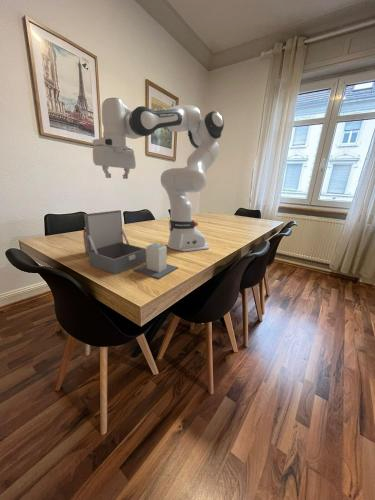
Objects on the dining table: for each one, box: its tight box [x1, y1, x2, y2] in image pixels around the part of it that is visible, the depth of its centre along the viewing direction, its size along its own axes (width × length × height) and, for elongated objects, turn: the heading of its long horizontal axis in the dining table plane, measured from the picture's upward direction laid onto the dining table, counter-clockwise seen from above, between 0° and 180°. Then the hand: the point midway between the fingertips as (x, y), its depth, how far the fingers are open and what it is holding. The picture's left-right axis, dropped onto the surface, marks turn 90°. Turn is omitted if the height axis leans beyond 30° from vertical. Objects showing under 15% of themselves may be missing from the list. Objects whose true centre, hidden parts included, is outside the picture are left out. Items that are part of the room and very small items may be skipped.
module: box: [145, 243, 168, 272], centre depth 79 cm, size 6×4×9 cm
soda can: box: [82, 226, 89, 255], centre depth 93 cm, size 7×7×12 cm
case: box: [83, 209, 147, 275], centre depth 82 cm, size 15×17×20 cm
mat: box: [133, 263, 179, 280], centre depth 80 cm, size 12×12×1 cm
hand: (117, 178), depth 91 cm, fingers open, 8 cm apart
